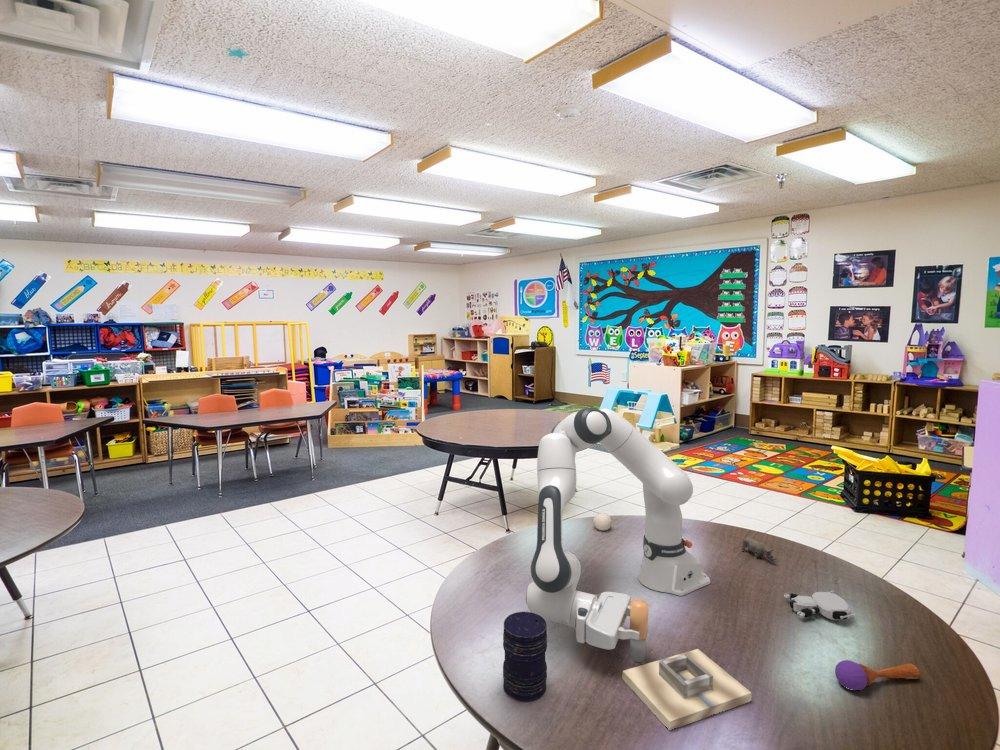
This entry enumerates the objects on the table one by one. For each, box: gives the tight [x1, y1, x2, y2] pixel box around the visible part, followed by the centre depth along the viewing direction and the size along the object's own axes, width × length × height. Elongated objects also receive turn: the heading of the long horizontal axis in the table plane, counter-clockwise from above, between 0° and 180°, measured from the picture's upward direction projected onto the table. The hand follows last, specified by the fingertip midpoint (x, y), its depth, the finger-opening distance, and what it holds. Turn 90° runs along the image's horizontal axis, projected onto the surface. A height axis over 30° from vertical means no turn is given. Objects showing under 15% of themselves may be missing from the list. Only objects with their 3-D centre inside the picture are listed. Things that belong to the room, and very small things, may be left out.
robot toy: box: [783, 590, 858, 621], centre depth 143 cm, size 12×4×15 cm
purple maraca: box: [834, 659, 921, 691], centre depth 115 cm, size 6×6×20 cm
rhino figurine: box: [740, 536, 778, 563], centre depth 177 cm, size 4×14×6 cm, turn 21°
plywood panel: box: [621, 648, 752, 731], centre depth 112 cm, size 22×16×5 cm
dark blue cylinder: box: [502, 611, 548, 703], centre depth 113 cm, size 10×10×15 cm
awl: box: [629, 598, 649, 663], centre depth 123 cm, size 4×4×14 cm
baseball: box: [592, 512, 612, 531], centre depth 201 cm, size 7×7×7 cm
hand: (642, 625), depth 122 cm, fingers open, 7 cm apart
